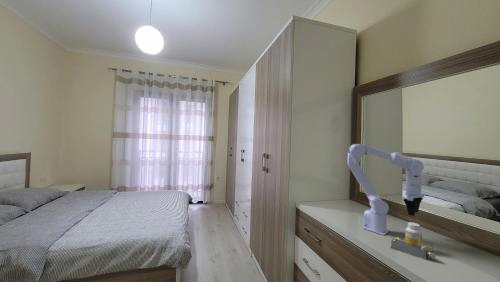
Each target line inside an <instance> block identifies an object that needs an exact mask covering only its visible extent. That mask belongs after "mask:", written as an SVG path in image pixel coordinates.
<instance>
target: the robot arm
mask: <svg viewBox="0 0 500 282" xmlns="http://www.w3.org/2000/svg"><path fill="white" fill-rule="evenodd" d="M365 155H366V156H367V155H373V156H376V157H378V158H381V159H385V160H387V161H388V163H389V164H390V165H394V166H397V167H399V168H402V169H405V170H406V171H405V175H406V176H405V194H404V195H405V196H406V197H407V198H403V203H404V204H405V206H406V211H407V214H408V216H413V217H415V215H416V213H418V212H419V210H420V205H421V203H422V201H423V199H424V198H425V195H424V194H422V172H423V170H424V169H425V165H424V164H423V162H422V161H421V160H419V159H415V158H413V157H412V156H410V155H409V156H406V155H404V154H402V153H401V152H399V151H398V152H397V151H396V152H392V153H389V152H387V151H385V150H382V149H378V148H376V147H374V146H370V145H365V144H362V143H352V144H351V145H349V148H348V149H347V166H348V168H349V169H350V171H351V173H352V174H353V176H354V177H355V179H356V180H357V182H358V184H359V185H360V187H361V188H362V190H363V192H364V193H365V195H366V197H367V199H368V201H369V203H368V204H369V206H370V209H365V211H364V214H363V226H362V229H364V230H367V231H369V232H372V233H376V234H380V235H383V236H385V235H386V234H387V233H389V232H390V230H389V229H387V224H388V223H387V221H388V212H389V209H390V207H389V205H388V203H387V202H386V201H384V200H383V199H382V198H381V196H380V195H379V194H378V192H377V191H376V188H374V186H373V184H372V183H371V182H370V179H369V178H368V177H367V175H366V174H365V172H364V170H363V168H362V167H361V165H360V162H361V159H362V158H363V157H364V156H365Z"/></svg>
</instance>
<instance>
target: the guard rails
mask: <svg viewBox="0 0 500 282" xmlns="http://www.w3.org/2000/svg"><path fill="white" fill-rule="evenodd" d="M395 238H396V239H398V240H401V238H400V237H398V236H396V237H395ZM425 248H427V249H428V250H427V251H429V252H433V251H434V248H433V247H431V246H429V247H427V246H426V247H425Z"/></svg>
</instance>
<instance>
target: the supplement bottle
mask: <svg viewBox="0 0 500 282" xmlns="http://www.w3.org/2000/svg"><path fill="white" fill-rule="evenodd" d="M422 233H423V232H422V231H421V224H419V223H417V222H416V223H415V222H412V221H410V222H408V223H407V227H405V232H404V236H405V237H404V241H405V242H408V243H411V244H414V245H418V246H421V247H422V237H423V236H422V235H423V234H422Z"/></svg>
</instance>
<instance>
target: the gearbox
mask: <svg viewBox="0 0 500 282" xmlns="http://www.w3.org/2000/svg"><path fill="white" fill-rule="evenodd" d="M390 242H391V243H390V248H391V249H393V250H396V251H399V252H402V253H405V254H408V255H411V256H413V257H417V258H420V259H423V260H427V258H430V259H433V260H436V253H434V252H433V251H427V250H428V249H427V248H426V247H425V246H422V245H421V246H418V245H414V244H411V243H408V242H405V240H401V239H400V240H398V239H396V237H394V238H392V239H391V241H390Z"/></svg>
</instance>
